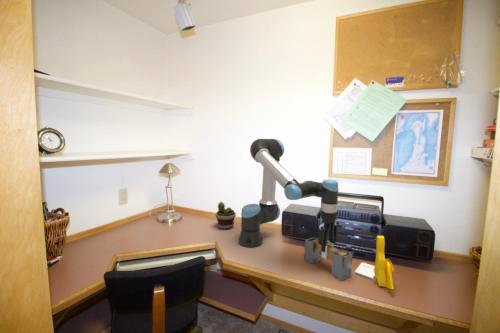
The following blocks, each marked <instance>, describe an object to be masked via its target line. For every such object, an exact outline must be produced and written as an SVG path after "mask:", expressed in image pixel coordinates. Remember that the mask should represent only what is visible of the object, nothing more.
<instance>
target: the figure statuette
mask: <svg viewBox="0 0 500 333" xmlns="http://www.w3.org/2000/svg"><path fill="white" fill-rule="evenodd" d="M375 242H376V244H375V245H376V248H375V249H376V252H375V262H374V266H375V267H374V274H375V277H374V278H375V280H376V282H377V284H378V286H379V287H384V288H387V289H389V290H395V287H394V283H393V281H394V280H393V273H394V271H395V267H394V264H393V263H392V261H391V260H390V258H389V257H388V258H386V257H385V254H386V253H385V248H386V244H385V243H386V240H385V236H384V235H376V241H375Z"/></svg>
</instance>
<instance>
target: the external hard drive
mask: <svg viewBox="0 0 500 333" xmlns="http://www.w3.org/2000/svg"><path fill="white" fill-rule="evenodd" d="M374 267H375V265H373V264H368V263H367V262H364V261H363V262H361V263H359V265H358V267H357V268H356V269H355V271H354V272H353V274H354V275H356V276H359V277H363V278H365V279H368V280H370V281H373V280H374V279H375V278H376V277H375V274H374Z"/></svg>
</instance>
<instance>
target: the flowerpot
mask: <svg viewBox="0 0 500 333" xmlns="http://www.w3.org/2000/svg"><path fill="white" fill-rule="evenodd" d="M236 216H237V213H236V212H235V211H234V209H232V208H231V207H230V206H228V207H226V205H225V203H224V202H223V201H221V202H218V204H217V211H216V213H215V218H216V220H217V226H218V228H219V229H221V230H230V229H232V228H233V227H234V225H235V218H236Z"/></svg>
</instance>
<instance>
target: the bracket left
mask: <svg viewBox="0 0 500 333" xmlns="http://www.w3.org/2000/svg"><path fill="white" fill-rule="evenodd" d="M315 239H316V240H318V237H315V236H313V237H310V238H307V239H304V252H303V253H304V258H303V260H304V261H306V262H307V263H309V264H312V265H313V264H316V263H318V262H320V261H322V257H321V255H319V254H317V253H315V252H314V243H312V242H311V241H312V240H315Z"/></svg>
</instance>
